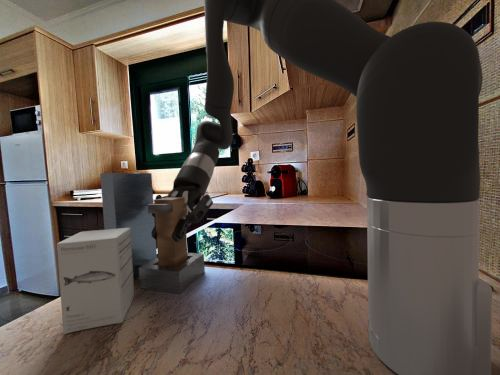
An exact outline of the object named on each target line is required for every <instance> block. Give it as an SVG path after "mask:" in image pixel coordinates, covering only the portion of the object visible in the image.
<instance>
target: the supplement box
mask: <svg viewBox="0 0 500 375" xmlns="http://www.w3.org/2000/svg"><path fill="white" fill-rule="evenodd" d="M56 250H57V265H58V266H57V267H58V279H59V292H60V303H61V319H62V320H61V321H62V333H63V334H64V335H67V334H71V333H75V332H78V331H84V330H88V329H94V328H100V327H104V326H109V325H117V324H121V323H123V321H124V320H125V317H126V316H127V314H128V311H129V309H130V307H131V305H132V303H133V300H134V298H135V290H134V289H135V284H134V280H133V264H132V249H131V228H118V229H107V230H105V229H96V230H87V231H86V230H85V231H80V232H78V233H76V234H73V235H71V236H69V237H67V238H65V239H63V240H61V241H59V242H57V243H56Z"/></svg>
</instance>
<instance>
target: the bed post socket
mask: <svg viewBox="0 0 500 375" xmlns="http://www.w3.org/2000/svg"><path fill="white" fill-rule="evenodd" d="M99 175H100V187H101V188H100V189H101V200H102V202H101V203H102V213H103V216H102V217H103V224H104V225H103V226H104V229H103V230H107V229H118V228H131V249H132V264H133V281H135V280H139V287H140V289H144V290H151V291H157V292H165V293H172V294H178V295H179V294H180V295H182V293H183V292H184V291H185V290H186V289H187V288H189V287H190V286H191V285H192V284H193V283H194V282H195V281H196V280H198V279H199V278H200V277H201V276H202V275H204V273H205V270H206V269H205V254H204V253H197V252H187V254H188V260H187V261H185V262H184V263H182V264H181V265H179V266H178V267H169V266H159V264H158V250H157V240H155V239H154V238H153V237H152V234H151V233H152V230H153V228H154V226H155V224H156V219H155V218H154V217H153V216H152V213H148V206H147V205H149V204H154V192H153V179H152V178H153V176H152V172H151V173H150V172H149V173H148V172H147V173H146V172H143V173H140V172H134V173H133V172H110V173H109V172H108V173H107V172H105V173H100V174H99Z"/></svg>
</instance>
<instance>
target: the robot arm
mask: <svg viewBox="0 0 500 375" xmlns="http://www.w3.org/2000/svg"><path fill="white" fill-rule="evenodd" d="M203 1H204V2H203V5H204V6H203V8H204V32H205V33H204V34H205V35H204V37H205V52H206V53H205V54H206V87H205V98H204V99H205V101H204V112H206V114H208V115H209V116H210V117H212V118H214V119H215V120H217V121H218V122H215V121H209V120H203V121H201V122H200V123H199V124H198V125H197V128H196V134H195V135H196V136H195V143H194V145H193V146H194V147H192V150H191V151H190V154H189V155H188V157H187V158H186V159H185V161H184V162H183V164H182V166H181V168H180V169H179V171H178V172H177V174H176V176H175V179H174V180H173V182H172V183H173V185H172V186H173V187H172V190H170V192H169V193H168V194H167V195H164V196H162V195H161V194H158V195H156V196H155V198H154V200H156V199H162V198H174V197H184V203H185V204H184V205H183V211H182V213H181V220H179V221H178V223H177V225H176V227H175V229H174V231H173V233H172V238H173V239H174V240H175V241H177V242H179V241H180V240H181V239H182V238H183V237H184V235H185V233H186V234H187V230H188V227H189V226H191V225H192V224H193V223H195V224H199V223H200V222H201V221H202V219H203V218H204V217H205V215H206V214H207V213H208V211H209V210H210V209H211V207H212V206H213V204H214V201H213V200H212V197H211V196H210V195H209V194H208V193H206V192H207V189H208V188H209V185H210V184H211V180H212V177H213V175H214V171H215V168H216V165H217V163H218V161H219V157H220V150H228V149H229V148H230V147H231V145H232V144H233V140H234V135H233V134H234V133H233V125H232V105H233V98H234V92H235V80H234V75H233V71H232V68H231V66H230V62H229V60H228V56H227V53H226V48H225V43H224V24H225V22H228V23H232V24H235V25H241V26H245V27H249V28H251V29H252V28H253V29H255V30H257V31H260V32H261V34H262V39H263V41H264V43H265V44H266V45H267V47H268V48H269V50H272V52H273V53H274V54H276V55H278V56H279V57H280V58H282V59H283V60H285V61H287V62H288V63H289V64H291V65H293V66H294V67H297V68H298V69H300V70H303V71H304V72H307V73H309V74H310V75H313V76H315V77H316V78H320V79H322V80H325V81H327V82H330V83H331V84H335V86H339V87H340V88H342V89H344V90H346V91H347V92H348V93H350V94H352V95H353V96H354V97H355V98H356V102H355V103H356V106H355V108H356V113H355V114H356V132H357V133H356V134H357V144H358V146H357V147H358V149H357V150H358V161H359V167H360V171H361V175H362V176H363V178H364V181H365V188H366V222H367V223H366V226H367V227H366V228H367V231H366V233H367V236H366V237H367V238H366V239H367V300H368V301H367V302H368V303H367V305H368V308H367V309H368V311H367V312H368V318H367V326H368V341H369V342H368V343H369V345H370V347H371V349H372V352H374V353H375V355H376V356H377V358H378V359H379V360H380V361H381V362H382V363H383V364H384V365H385V366H386V367H388V369H390V370H391V371H392V372H394V373H395V374H397V375H492V342H493V341H492V338H493V336H492V334H493V332H492V331H493V330H492V327H493V326H492V324H493V319H492V318H493V287H491V285H490V284H489V283H488V282H486V281H485V280H484V279H481V277H479V276H480V208H481V207H480V206H481V205H480V203H481V202H480V201H481V200H480V198H481V197H480V196H481V195H480V194H481V168H480V148H479V146H480V145H479V116H480V115H479V114H480V113H479V112H480V109H479V106H480V100H479V99H480V94H481V92H482V87H483V78H484V77H483V69H482V63H481V60H480V52H479V48H478V46H477V43H476V42H475V40H474V38H473V37H472V35H471V34H470V33H468V32H467V30H465V29H463V28H462V27H460V26H458V25H456V24H453V23H450V22H445V21H427V22H420V23H416V24H413V25H410V26H408V27H405V28H404V29H401V30H400V31H398V32H396V33H395V34H393V35H391V36H390V35H388V34H385V33H383V32H381V31H379V30H377V28H374V26H373V27H372V26H371V25H370V24H368V23H367V22H366V21H365V20H363V19H362V18H361V17H359V16H358V15H357V14H355V13H354V12H353V11H351V10H350V9H349V8H347V7H346V6H345V5H343V4H342V3H340V2H338V1H336V0H203ZM152 216H153V217H154V219H155V213H152ZM151 234H152V237H153V238H154V239H155V240H156V241H157V230H156V223H155V226H154V228H153V230H152V233H151Z"/></svg>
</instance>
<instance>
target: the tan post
mask: <svg viewBox="0 0 500 375" xmlns="http://www.w3.org/2000/svg"><path fill="white" fill-rule="evenodd" d="M155 199H156V198H155ZM155 199H153V204H149V205H147V206H148V213H155V218H154V220H155V224H156V230H157V240H156V250H157V258H158V264H159V266H169V267H178V266H179V265H181V264H182V263H184V262H185V261H187V260H188V254H187V253H188V240H187V238H188V237H187V232H186V233H185V235H184V237H183V238H182V239H181V240H180V241H179V242H177V241H175V240H174V239H173V238H172V233H173V231H174V229H175V227H176V225H177V223H178V221H179V220H181V213H182V211H183V205H184V204H185V203H184V197H174V198H162V199H156V200H155Z"/></svg>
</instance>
